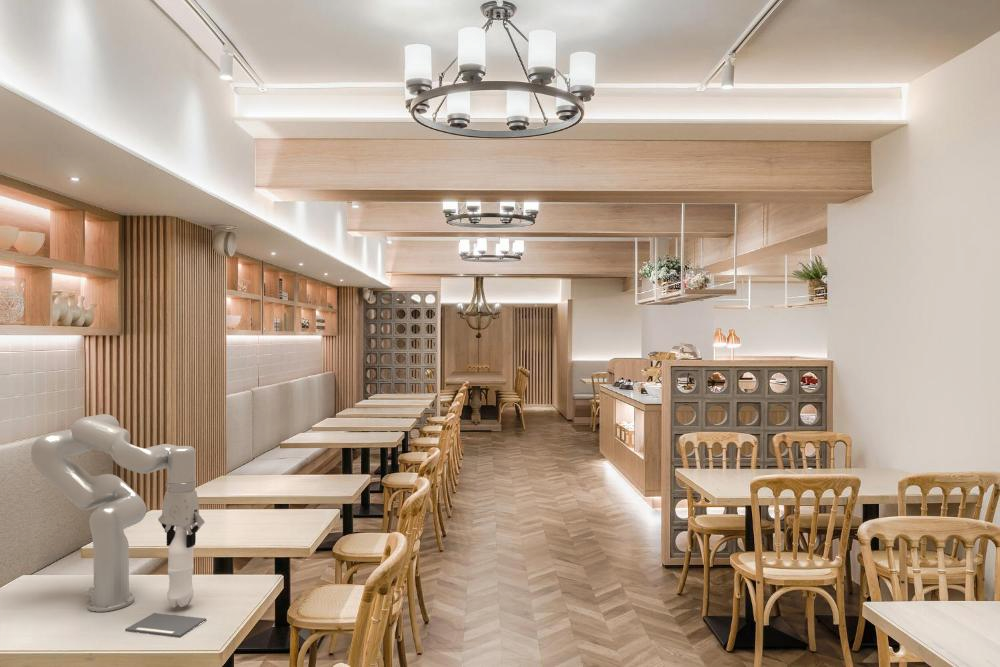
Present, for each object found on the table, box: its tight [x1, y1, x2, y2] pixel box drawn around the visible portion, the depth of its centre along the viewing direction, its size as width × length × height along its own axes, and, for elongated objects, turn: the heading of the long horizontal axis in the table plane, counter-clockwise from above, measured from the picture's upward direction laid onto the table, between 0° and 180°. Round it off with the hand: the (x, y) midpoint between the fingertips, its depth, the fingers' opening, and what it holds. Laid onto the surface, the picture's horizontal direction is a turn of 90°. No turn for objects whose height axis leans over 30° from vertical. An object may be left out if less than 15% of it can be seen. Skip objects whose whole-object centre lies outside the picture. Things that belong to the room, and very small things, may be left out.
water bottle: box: [167, 526, 195, 608], centre depth 202 cm, size 7×7×25 cm
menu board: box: [124, 612, 207, 638], centre depth 189 cm, size 18×11×1 cm, turn 77°
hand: (181, 544), depth 202 cm, fingers closed on water bottle, 6 cm apart
